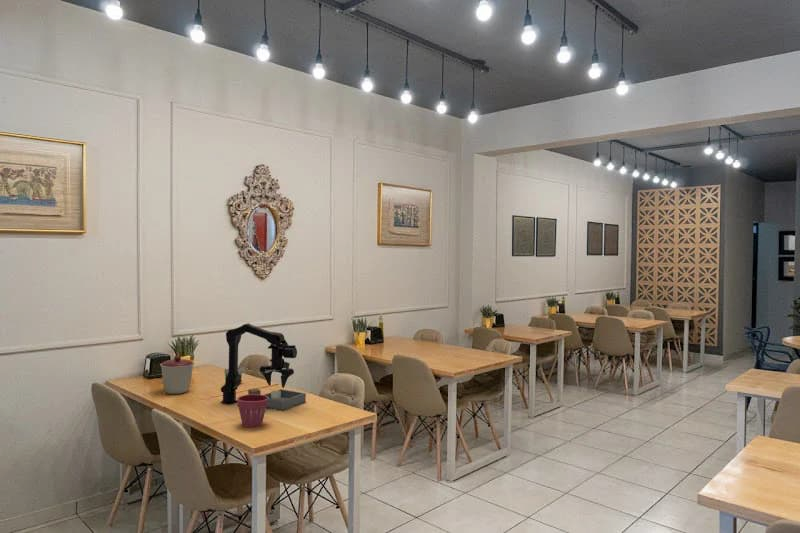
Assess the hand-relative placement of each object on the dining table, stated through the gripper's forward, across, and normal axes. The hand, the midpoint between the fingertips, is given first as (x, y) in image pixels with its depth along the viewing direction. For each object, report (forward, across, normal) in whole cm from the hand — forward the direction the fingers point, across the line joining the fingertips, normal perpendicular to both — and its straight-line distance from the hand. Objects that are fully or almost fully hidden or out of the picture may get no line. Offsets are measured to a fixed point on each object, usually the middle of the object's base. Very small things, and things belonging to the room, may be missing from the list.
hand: (276, 386), depth 288 cm
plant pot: (+11, -11, +30) cm, 34 cm away
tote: (+11, 0, -5) cm, 12 cm away
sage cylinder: (+10, 0, 0) cm, 10 cm away
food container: (+11, +52, -25) cm, 59 cm away
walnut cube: (+11, +20, -6) cm, 24 cm away
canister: (+10, +66, +7) cm, 67 cm away
